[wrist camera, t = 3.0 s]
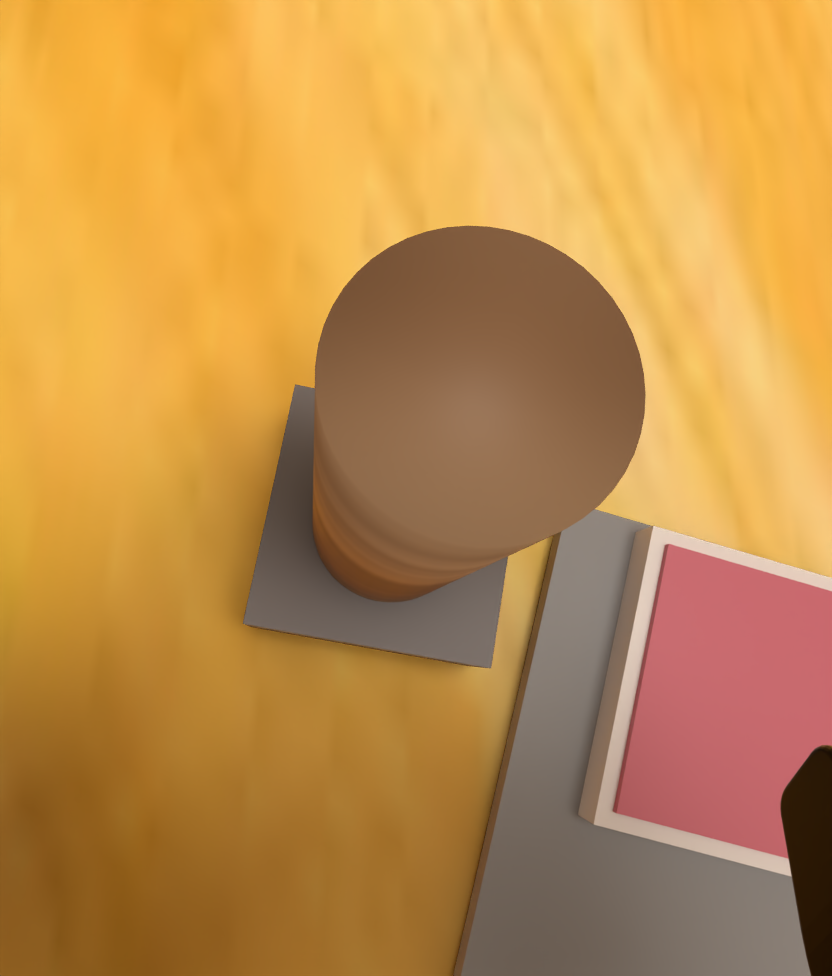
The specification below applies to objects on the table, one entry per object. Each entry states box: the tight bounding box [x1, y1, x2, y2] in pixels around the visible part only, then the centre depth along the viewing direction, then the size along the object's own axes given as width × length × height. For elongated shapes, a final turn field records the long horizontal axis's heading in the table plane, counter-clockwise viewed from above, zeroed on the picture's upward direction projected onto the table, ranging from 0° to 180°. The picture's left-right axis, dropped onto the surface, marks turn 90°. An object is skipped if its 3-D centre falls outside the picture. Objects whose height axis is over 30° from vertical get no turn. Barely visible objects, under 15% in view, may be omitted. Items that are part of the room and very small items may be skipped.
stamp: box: [243, 226, 645, 668], centre depth 13 cm, size 5×5×12 cm
